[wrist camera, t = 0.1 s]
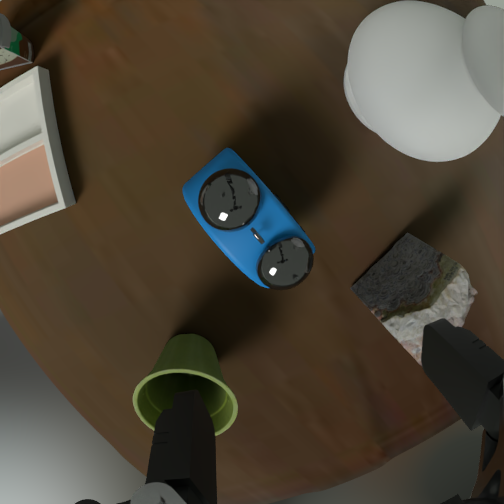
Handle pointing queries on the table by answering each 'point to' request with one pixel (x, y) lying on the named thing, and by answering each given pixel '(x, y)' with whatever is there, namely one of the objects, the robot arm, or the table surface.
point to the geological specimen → (415, 291)
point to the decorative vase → (428, 77)
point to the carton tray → (30, 152)
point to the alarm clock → (249, 223)
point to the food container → (13, 46)
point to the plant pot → (186, 382)
